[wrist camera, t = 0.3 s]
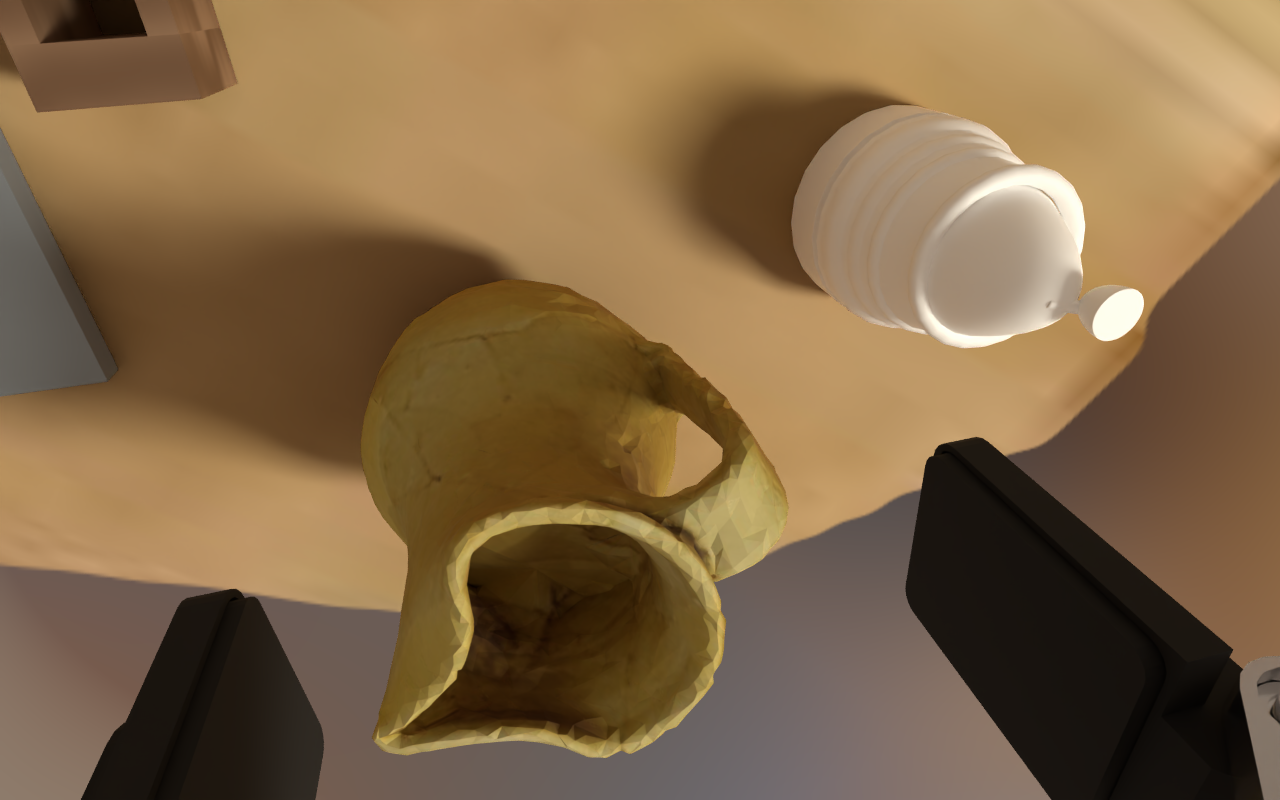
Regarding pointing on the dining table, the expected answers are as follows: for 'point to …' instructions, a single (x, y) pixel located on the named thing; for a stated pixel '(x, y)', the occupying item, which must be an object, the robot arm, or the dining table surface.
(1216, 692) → the robot arm
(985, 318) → the honey pot
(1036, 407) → the dining table surface
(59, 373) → the base plate
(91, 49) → the block
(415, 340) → the pitcher
